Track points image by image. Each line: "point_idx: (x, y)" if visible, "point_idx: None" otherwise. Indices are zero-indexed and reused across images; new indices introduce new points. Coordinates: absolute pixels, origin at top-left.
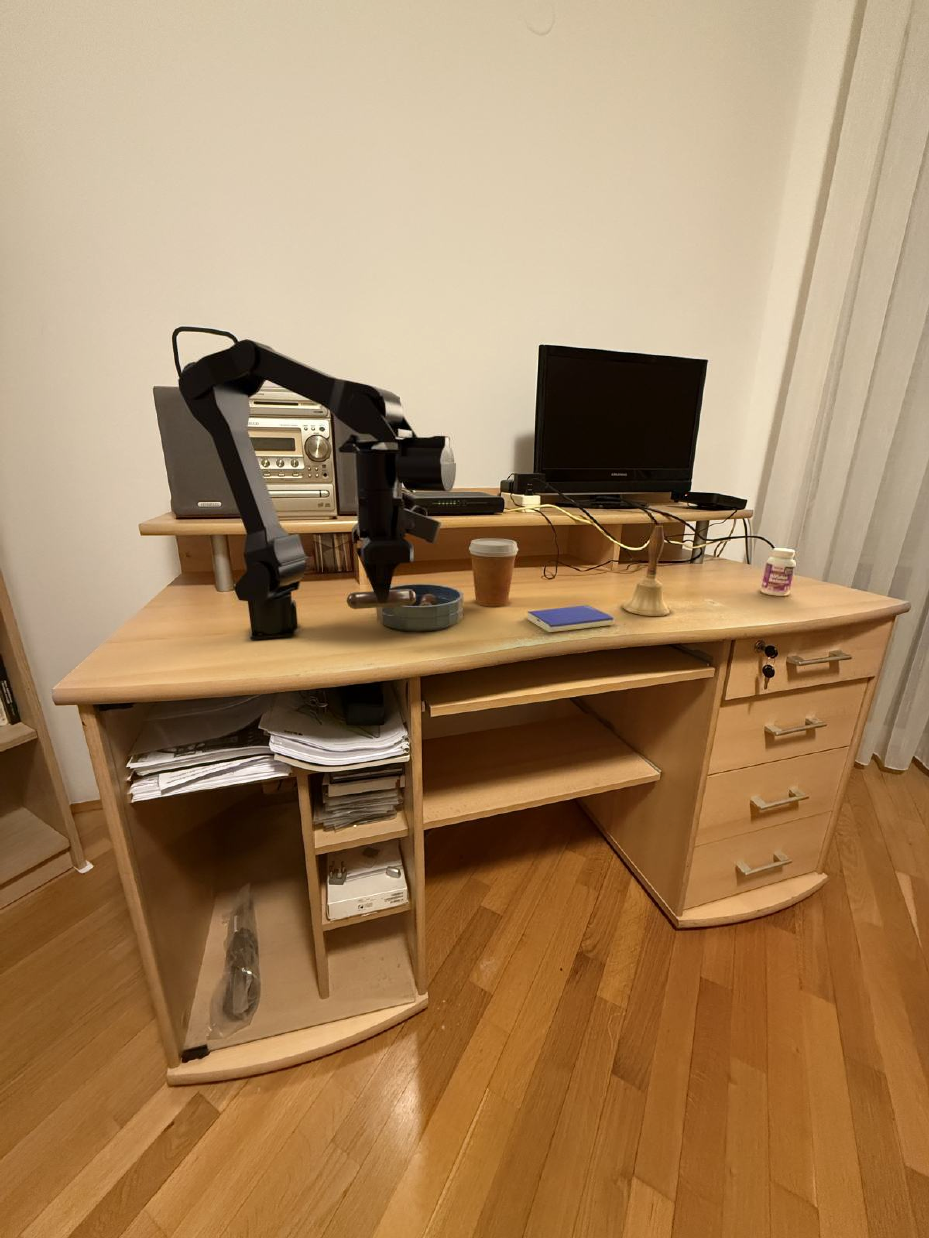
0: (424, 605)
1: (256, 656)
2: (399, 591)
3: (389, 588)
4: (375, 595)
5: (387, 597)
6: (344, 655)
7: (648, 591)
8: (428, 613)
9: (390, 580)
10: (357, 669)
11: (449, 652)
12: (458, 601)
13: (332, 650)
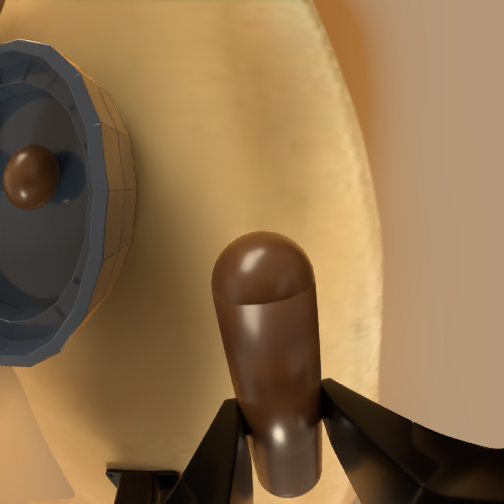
0: (29, 182)
1: None
2: (302, 350)
3: (384, 408)
4: (317, 436)
5: (348, 388)
6: None
7: None
8: (114, 161)
9: (423, 431)
10: (375, 347)
11: (313, 117)
12: (50, 45)
13: None
